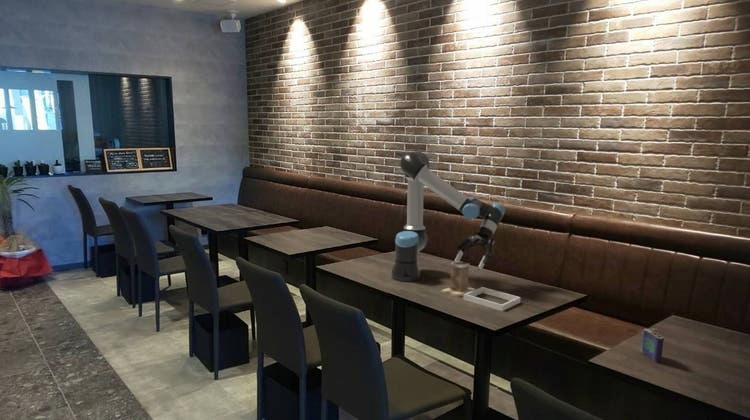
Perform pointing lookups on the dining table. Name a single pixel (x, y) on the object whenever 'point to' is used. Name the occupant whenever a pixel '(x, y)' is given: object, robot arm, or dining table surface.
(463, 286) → the canister
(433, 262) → the dining table surface
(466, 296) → the white rectangular frame
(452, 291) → the board
